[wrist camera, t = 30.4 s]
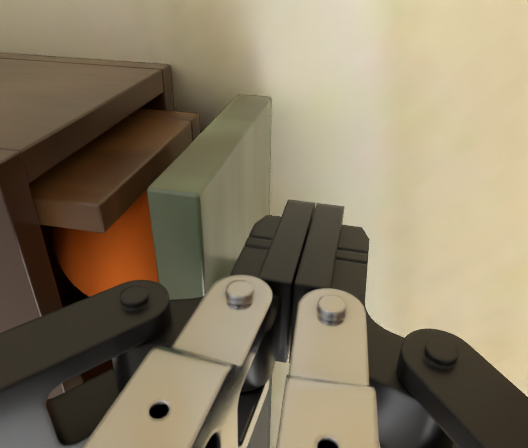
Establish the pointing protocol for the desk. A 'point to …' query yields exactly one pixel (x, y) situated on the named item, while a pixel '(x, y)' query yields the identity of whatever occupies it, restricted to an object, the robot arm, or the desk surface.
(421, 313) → the desk surface
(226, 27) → the desk surface
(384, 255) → the desk surface
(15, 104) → the cabinet
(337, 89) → the desk surface
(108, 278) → the ball
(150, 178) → the drawer
